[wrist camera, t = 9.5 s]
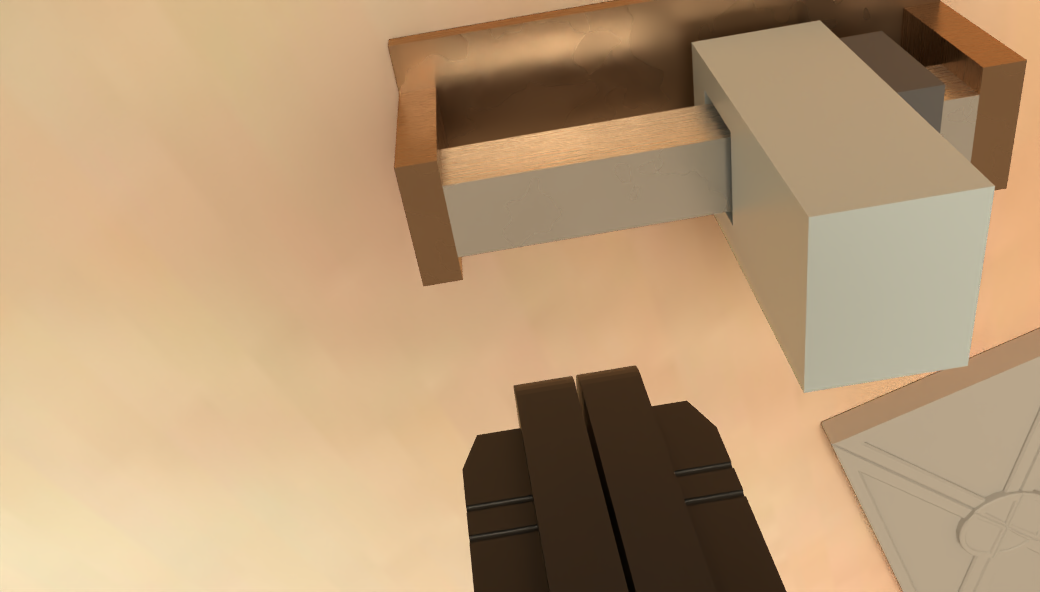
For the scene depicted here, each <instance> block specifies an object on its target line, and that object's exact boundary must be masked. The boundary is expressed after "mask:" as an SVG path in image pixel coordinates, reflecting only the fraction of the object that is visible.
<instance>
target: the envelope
mask: <svg viewBox="0 0 1040 592" xmlns="http://www.w3.org/2000/svg"><path fill="white" fill-rule="evenodd" d="M822 426H823V429H824V431H825V433H826V435H827V437H828V439H829V441H830V443H831V445H832V447H833V449H834V451H835V453H836V455H837V457H838V459H839V461H840V463H841V466H842V468H843V470H844V472H845V474H846V476H847V478H848V480H849V482H850V484H851V486H852V488H853V490H854V492H855V494H856V496H857V498H858V500H859V503H860V505H861V507H862V509H863V511H864V513H865V515H866V517H867V519H868V521H869V523H870V525H871V527H872V529H873V531H874V533H875V535H876V537H877V540H878V542H879V544H880V546H881V548H882V550H883V552H884V554H885V556H886V558H887V560H888V562H889V564H890V566H891V568H892V570H893V572H894V574H895V577H896V579H897V581H898V583H899V585H900V587H901V589H902V591H903V592H1040V328H1039V329H1036V330H1034V331H1032V332H1029V333H1027V334H1025V335H1022V336H1020V337H1018V338H1016V339H1013V340H1011V341H1009V342H1006V343H1004V344H1002V345H999V346H997V347H995V348H992V349H990V350H988V351H985V352H983V353H981V354H978V355H976V356H974V357H972V358H969V361H968V366H964V367H958V368H952V369H946V370H941V371H939V372H937V373H934V374H932V375H930V376H927V377H925V378H923V379H921V380H918V381H916V382H914V383H911V384H909V385H907V386H904V387H902V388H900V389H897V390H895V391H893V392H890V393H888V394H886V395H883V396H881V397H879V398H877V399H874V400H872V401H870V402H867V403H865V404H863V405H860V406H858V407H856V408H853V409H851V410H849V411H846V412H844V413H842V414H839V415H837V416H835V417H832V418H830V419H828V420H826V421H823V422H822Z"/></svg>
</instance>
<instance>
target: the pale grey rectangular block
mask: <svg viewBox="0 0 1040 592" xmlns="http://www.w3.org/2000/svg"><path fill="white" fill-rule="evenodd" d="M691 43H692V64H693V85H694V106H698V105H704V104H710V103H713V105H714V106H715V108H716V109H717V111H718V113H719V114H720V116H721V117H722V119H723V121H724V122H725V124H726V125H727V127H728V128H729V130H730V132H731V166H732V207H733V211H731V212H725V213H719V214H714V216H715V218H716V220H717V222H718V224H719V226H720V228H721V230H722V232H723V234H724V236H725V238H726V240H727V242H728V244H729V246H730V248H731V250H732V252H733V253H734V255H735V257H736V259H737V261H738V263H739V265H740V267H741V269H742V271H743V273H744V275H745V277H746V279H747V281H748V283H749V285H750V287H751V289H752V291H753V293H754V295H755V297H756V299H757V301H758V303H759V305H760V307H761V309H762V311H763V313H764V315H765V317H766V319H767V321H768V323H769V325H770V327H771V329H772V331H773V333H774V335H775V337H776V339H777V341H778V343H779V344H780V346H781V348H782V350H783V352H784V354H785V356H786V358H787V360H788V362H789V364H790V366H791V368H792V370H793V372H794V374H795V376H796V378H797V380H798V382H799V384H800V386H801V388H802V390H803V392H804V393H806V392H812V391H818V390H824V389H831V388H837V387H843V386H849V385H855V384H861V383H867V382H873V381H879V380H885V379H891V378H897V377H903V376H909V375H915V374H921V373H928V372H934V371H940V370H946V369H952V368H958V367H964V366H968V361H969V354H970V348H971V341H972V334H973V328H974V321H975V315H976V308H977V302H978V295H979V288H980V282H981V275H982V269H983V262H984V255H985V249H986V242H987V236H988V229H989V223H990V216H991V209H992V203H993V196H994V190H995V185H994V184H992V183H991V182H990V181H989V180H988V179H987V178H986V177H985V176H984V175H983V174H982V173H981V172H980V171H979V170H978V169H977V168H976V167H974V166H973V165H972V164H971V163H970V162H969V161H968V160H967V159H966V158H965V157H964V156H963V155H962V154H961V153H960V152H959V151H958V150H957V149H955V148H954V147H953V146H952V145H951V144H950V143H949V142H948V141H947V140H946V139H945V138H944V137H943V136H942V135H941V134H940V133H939V132H937V131H936V130H935V129H934V128H933V127H932V126H931V125H930V124H929V123H928V122H927V121H926V120H925V119H924V118H923V117H922V116H921V115H920V114H918V113H917V112H916V111H915V110H914V109H913V108H912V107H911V106H910V105H909V104H908V103H907V102H906V101H905V100H904V99H903V98H902V97H900V96H899V95H898V94H897V93H896V92H895V91H894V90H893V89H892V88H891V87H890V86H889V85H888V84H887V83H886V82H885V81H884V80H882V79H881V78H880V77H879V76H878V75H877V74H876V73H875V72H874V71H873V70H872V69H871V68H870V67H869V66H868V65H867V64H866V63H865V62H863V61H862V60H861V59H860V58H859V57H858V56H857V55H856V54H855V53H854V52H853V51H852V50H851V49H850V48H849V47H848V46H847V45H845V44H844V43H843V42H842V41H841V40H840V39H839V38H838V37H837V36H836V35H835V34H834V33H833V32H832V31H831V30H830V29H829V28H828V27H826V26H825V25H824V24H823V23H822V22H821V21H820V20H818V21H813V22H807V23H801V24H795V25H789V26H783V27H778V28H772V29H766V30H760V31H754V32H748V33H743V34H737V35H731V36H725V37H719V38H713V39H708V40H702V41H696V42H691Z"/></svg>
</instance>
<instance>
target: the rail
mask: <svg viewBox="0 0 1040 592" xmlns="http://www.w3.org/2000/svg"><path fill="white" fill-rule="evenodd" d="M818 20H820V21H821V22H822V23H823V24H824V25H825V26H826V27H828V28H829V29H830V30H831V31H832V32H833V33H834V34H835V35H836V36H837V37H838V38H843V37H849V36H855V35H861V34H866V33H872V32H878V31H883V32H884V33H885V34H886V35H887V36H888V37H890V38H891V39H892V40H893V41H894V42H896V43H897V44H898V45H899V46H900V47H902V48H903V49H904V50H905V51H906V52H908V53H909V54H910V55H911V56H912V57H913V58H915V59H916V60H917V61H918V62H919V63H921V64H922V65H923V66H924V67H925V68H927V69H928V70H929V71H930V72H931V73H933V74H934V75H935V76H936V77H937V78H938V79H940V80H941V81H942V82H943V83H944V84H946V85H945V94H944V103H943V112H942V121H941V130H940V134H941V135H942V136H943V137H944V138H945V139H946V140H947V141H948V142H949V143H950V144H951V145H952V146H953V147H954V148H955V149H957V150H958V151H959V152H960V153H961V154H962V155H963V156H964V157H965V158H966V159H967V160H968V161H969V162H970V163H971V164H972V165H973V166H974V167H976V168H977V169H978V170H979V171H980V172H981V173H982V174H983V175H984V176H985V177H986V178H987V179H988V180H989V181H990V182H991V183H992V184H994V185H995V190H1000V189H1006V188H1007V181H1008V175H1009V169H1010V162H1011V156H1012V150H1013V144H1014V137H1015V131H1016V125H1017V119H1018V112H1019V106H1020V100H1021V94H1022V87H1023V81H1024V75H1025V69H1026V62H1027V60H1026V59H1024V58H1023V57H1021V56H1020V55H1018V54H1017V53H1016V52H1014V51H1013V50H1011V49H1010V48H1008V47H1007V46H1005V45H1004V44H1002V43H1001V42H1000V41H998V40H997V39H995V38H994V37H992V36H991V35H989V34H988V33H986V32H985V31H983V30H982V29H981V28H979V27H978V26H976V25H975V24H973V23H972V22H970V21H969V20H967V19H966V18H964V17H963V16H962V15H960V14H959V13H957V12H956V11H954V10H953V9H951V8H950V7H948V6H947V5H946V4H944V3H943V2H941V1H940V0H614V1H608V2H602V3H597V4H591V5H585V6H579V7H573V8H568V9H562V10H556V11H550V12H544V13H539V14H533V15H527V16H521V17H516V18H510V19H504V20H498V21H492V22H487V23H481V24H475V25H469V26H463V27H458V28H452V29H446V30H440V31H434V32H429V33H423V34H417V35H411V36H405V37H400V38H394V39H389V41H388V48H389V53H390V57H391V61H392V66H393V70H394V74H395V78H396V83H397V87H398V91H399V103H398V118H397V133H396V148H395V163H394V169H395V173H396V177H397V181H398V185H399V190H400V194H401V198H402V202H403V206H404V210H405V214H406V218H407V222H408V226H409V230H410V234H411V238H412V242H413V246H414V250H415V254H416V258H417V262H418V266H419V270H420V274H421V278H422V282H423V286H428V285H434V284H440V283H446V282H452V281H458V280H463V274H462V257H463V256H469V255H475V254H481V253H487V252H493V251H499V250H505V249H511V248H517V247H523V246H529V245H535V244H541V243H547V242H552V241H558V240H564V239H570V238H576V237H582V236H588V235H594V234H600V233H606V232H612V231H618V230H624V229H630V228H636V227H642V226H647V225H653V224H659V223H665V222H671V221H677V220H683V219H689V218H695V217H701V216H707V215H713V214H719V213H725V212H731V211H733V207H732V166H731V132H730V130H729V128H728V127H727V125H726V124H725V122H724V121H723V119H722V117H721V116H720V114H719V113H718V111H717V109H716V108H715V106H714V105H713V103H710V104H704V105H698V106H694V85H693V64H692V43H691V42H696V41H702V40H708V39H713V38H719V37H725V36H731V35H737V34H743V33H748V32H754V31H760V30H766V29H772V28H778V27H783V26H789V25H795V24H801V23H807V22H813V21H818Z"/></svg>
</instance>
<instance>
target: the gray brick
mask: <svg viewBox="0 0 1040 592" xmlns="http://www.w3.org/2000/svg"><path fill="white" fill-rule="evenodd" d="M839 39H840V40H841V41H842V42H843V43H844V44H845V45H847V46H848V47H849V48H850V49H851V50H852V51H853V52H854V53H855V54H856V55H857V56H858V57H859V58H860V59H861V60H862V61H863V62H865V63H866V64H867V65H868V66H869V67H870V68H871V69H872V70H873V71H874V72H875V73H876V74H877V75H878V76H879V77H880V78H881V79H882V80H884V81H885V82H886V83H887V84H888V85H889V86H890V87H891V88H892V89H893V90H894V91H895V92H896V93H897V94H898V95H899V96H900V97H902V98H903V99H904V100H905V101H906V102H907V103H908V104H909V105H910V106H911V107H912V108H913V109H914V110H915V111H916V112H917V113H918V114H920V115H921V116H922V117H923V118H924V119H925V120H926V121H927V122H928V123H929V124H930V125H931V126H932V127H933V128H934V129H935V130H936V131H937V132H939V133H940V130H941V121H942V112H943V103H944V94H945V85H946V84H944V83H943V82H942V81H941V80H940V79H938V78H937V77H936V76H935V75H934V74H933V73H931V72H930V71H929V70H928V69H927V68H925V67H924V66H923V65H922V64H921V63H919V62H918V61H917V60H916V59H915V58H913V57H912V56H911V55H910V54H909V53H908V52H906V51H905V50H904V49H903V48H902V47H900V46H899V45H898V44H897V43H896V42H894V41H893V40H892V39H891V38H890V37H888V36H887V35H886V34H885V33H884V32H883V31H878V32H872V33H866V34H861V35H855V36H849V37H843V38H839Z"/></svg>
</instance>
